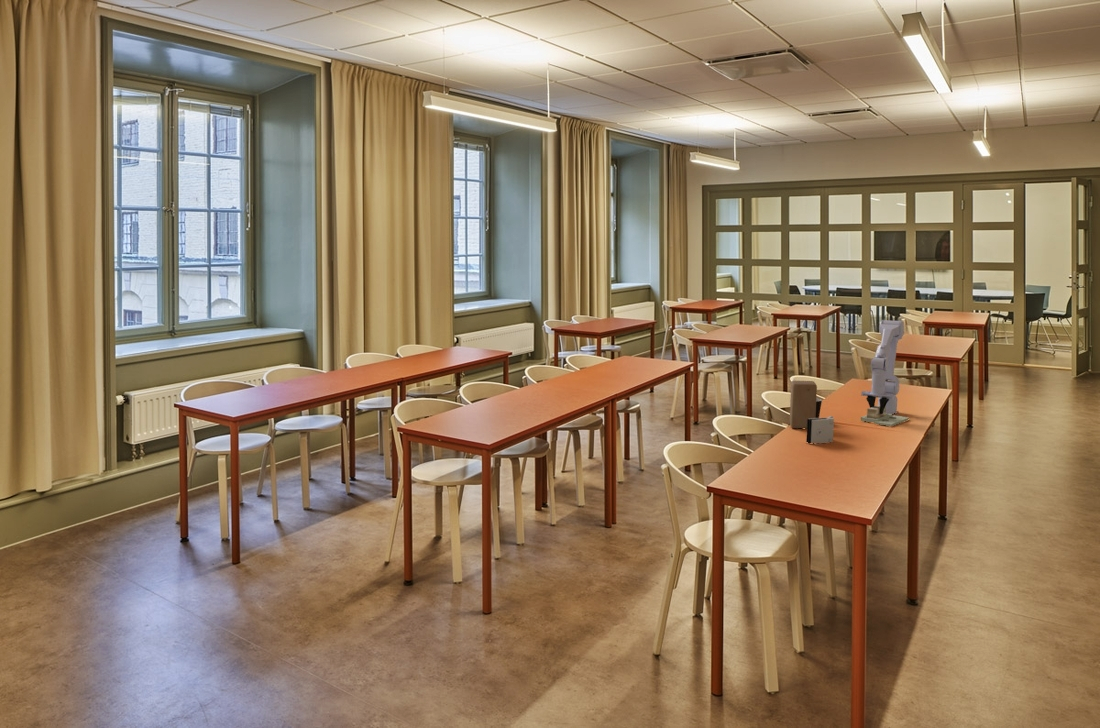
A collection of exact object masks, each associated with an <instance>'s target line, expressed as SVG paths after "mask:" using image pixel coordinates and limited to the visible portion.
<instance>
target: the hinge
mask: <svg viewBox="0 0 1100 728" xmlns="http://www.w3.org/2000/svg"><path fill="white" fill-rule="evenodd" d="M834 421H835V418H834V416H833V415H829V416H828V417H819V418H811V419H807V429H806V438H805V439H806V442H808V443H828V442H834V441H833V440H834V427H835V426H834V424H835V422H834ZM828 444H829V443H828Z"/></svg>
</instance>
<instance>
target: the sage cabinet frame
mask: <svg viewBox="0 0 1100 728" xmlns="http://www.w3.org/2000/svg"><path fill="white" fill-rule="evenodd" d="M908 419H909V420H910V417H909V416H901V415H895V414H893V415H892V414H888V413H886V416H883V417H880V418H877V419H873V418H867V414H866V415H862V416H860V422H861V421H866V422H865V423H867V422H874V423H875V424H880V425H879V426H881V425H886V426H885V427H887V426H892V427H895V426H897V425H896V424H898V425H900V424H902V423H901V422H903V423H905V422H907V421H906V420H908ZM909 420H908V421H909ZM904 421H905V422H904ZM899 423H900V424H899ZM894 425H895V426H894Z"/></svg>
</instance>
